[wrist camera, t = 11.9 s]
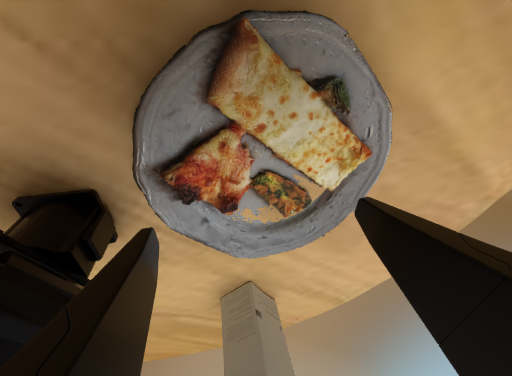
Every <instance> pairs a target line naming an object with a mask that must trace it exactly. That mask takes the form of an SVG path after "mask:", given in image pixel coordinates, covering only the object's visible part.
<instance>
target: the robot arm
mask: <svg viewBox="0 0 512 376" xmlns="http://www.w3.org/2000/svg"><path fill="white" fill-rule="evenodd" d="M88 194H90V195H92V196H89V195H88ZM19 202H20V203H22V204H20V203H19ZM12 206H13V207H14V208H15V209H16V211H17V212H18V213H19V215H20V216H21V218H19V219H18V220H17V221H16V222H15V223H14V224H13V225H12V226H11V227H10V228H9V229H8V230H7V231H6V232H5V233H3V232H4V231H2V230H0V376H140V374H141V368H142V363H143V358H144V352H145V347H146V341H147V336H148V330H149V325H150V320H151V314H152V309H153V303H154V298H155V292H156V287H157V276H158V260H159V242H158V239H157V236H156V233H155V230H154V228H152V227H150V228H143V229H141V230H140V231H139V232H138V233H137V234H136V235H135V236H134V237H133V238H132V239H131V240H130V241H129V242H128V243H127V244H126V245H125V246H124V247H123V248H122V249H121V250H120V251H119V252H118V253H117V254H116V255H115V256H114V257H113V258H112V259H111V260H110V261H109V262H108V263H107V264H106V265H105V266H104V267H103V269H102V270H101V271H100V272H99V273H98V274H97V275H96V276H95V277H94V278H93V279H92V280H89V279H88V277H89V275H90V273H91V271H92V268H93V266H94V264H95V262H96V261H99V260H101V258H102V257H103V255H104V253H105V250H106V248H107V246H108V244H109V243H114V242H116V240H117V238H118V237H117V234H116V232H115V227H114V224H113V222H112V220H111V218H110V216H109V214H108V212H107V210H106V209H104V207H103V205H102V203H101V201H100V199H99V196H98V194H97V193H96V192H95V191H93V190H82V191H73V192H64V193H54V194H45V195H36V196H27V197H18V198H16V199H15V200H14V201H12ZM355 217H356V219H357V221H358V223H359V225H360V226H361V228H362V230H363V232H364V234H365V236H366V237H367V239H368V241H369V243H370V244H371V246H372V248H373V249H374V251H375V252H376V254H377V255H378V257H379V258H380V259H381V261H382V262H383V264H384V265H385V267H386V268H387V270H388V271H389V273H390V274H391V276H392V277H393V278H394V280H395V282H396V283H397V285H398V286H399V287H400V289H401V290H402V292H403V293H404V295H405V296H406V298H407V299H408V301H409V302H410V304H411V305H412V307H413V308H414V310H415V311H416V313H417V314H418V315H419V317H420V318H421V320H422V321H423V323H424V324H425V326H426V327H427V329H428V330H429V332H430V333H431V334H432V336H433V338H434V339H435V341H436V342H437V343H438V344H439V347H440V348H441V349H442V351H443V353H444V354H445V356H446V357H447V359H448V360H449V362H450V363H451V364H452V366H453V367H454V369H455V370H456V372H457V373H458V375H459V376H512V252H509V251H507V250H504V249H501V248H498V247H495V246H493V245H490V244H487V243H485V242H482V241H479V240H477V239H474V238H471V237H469V236H466V235H464V234H461V233H457V232H456V231H454V230H451V229H449V228H446V227H444V226H441V225H438V224H436V223H433V222H431V221H428V220H426V219H423V218H421V217H418V216H416V215H413V214H411V213H408V212H406V211H403V210H401V209H398V208H396V207H393V206H390V205H388V204H385V203H383V202H380V201H378V200H375V199H373V198H370V197H363V198H360V199H359V200H358V202H357V206H356V209H355ZM111 238H113V239H111Z"/></svg>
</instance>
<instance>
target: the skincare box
mask: <svg viewBox="0 0 512 376" xmlns="http://www.w3.org/2000/svg"><path fill="white" fill-rule="evenodd" d="M221 313H222V333H223V354H224V373H225V376H295V375H294V371H293V367H292V364H291V359H290V356H289V352H288V348H287V344H286V340H285V336H284V333H283V329H282V325H281V321H280V317H279V313H278V309H277V305H276V302H275V300H273V299H272V298H270V297H269V296H267V295H266V294H265V293H263V292H262V291H261V290H260V289H259V288H257V287H256V286H255V285H254V284H253V283H252V282H248V283H246V284H245V285H243V286H241V287H239V288H238V289H236V290H234V291H232V292H231V293H229V294H227V295H225V296H224V297H222V298H221Z"/></svg>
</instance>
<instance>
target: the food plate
mask: <svg viewBox="0 0 512 376" xmlns="http://www.w3.org/2000/svg"><path fill="white" fill-rule="evenodd" d="M346 34H349V33H348V32H347V30H345V29H343V28H342V27H340V25H338V24H337V23H336V22H335V21H334V22H333V20H332V19H330V18H327V17H324V16H322V15H319V14H314V13H310V12H307V11H293V12H292V11H287V12H286V11H283V12H282V11H280V12H279V11H277V12H276V11H273V12H270V11H268V12H266V11H256V10H254V11H253V10H252V11H251V10H247V11H243V12H240V14H238V15H236V16H234V17H233V18H231V19H230V20H228V21H227V20H226V22H223V23H220V24H218V25H217V24H216V26H215V25H212V26H209V27H208V28H206V29H204V30H202V31H200V32H198V33H197V34H196V35H194V36H193V37H192V38H191V40H190V41H189V43H187V45H184V46H183V47H181V48H180V49H179V50H178V51H177V52H176V53H175V54H174V55H173V56H174V57H173V58H172V59H170V60H169V61H168V63H167V64H166V65H164V67H162V68H161V69H160V70H159V72H158V73H157V74H156V76H155V77H154V78H153V79H152V81H151V82H150V84H149V85H148V87H147V88H146V90H145V92H144V94H143V95H142V96H141V100H140V103H139V105H138V107H137V108H136V112H135V116H134V124H133V130H132V132H133V137H132V138H133V159H134V160H133V166H132V167H133V168H132V170H133V177H134V179H135V182H136V184H137V186H138V187H139V189H140V190H141V191H142V192H144V194H143V195H144V196H145V197H146V199H147V201H148V205H149V206H150V207H151V208H152V209H153V210H154V212H155V214H157V216H158V217H159V218H160V219H161V220H162V221H163V222H164V223H165V224H166V225H167V227H169V228H170V229H171V230H174V231H175V232H177V233H178V232H179V234H181V235H185V236H186V237H188V238H190V239H193V240H194V241H195V240H196V241H197V242H200V243H203V244H204V245H206V246H208V247H212V248H213V249H216V250H218V251H221V252H224V253H226V254H227V253H229V254H230V255H233V257H236V258H248V259H250V258H258V257H266V256H269V255H274V254H278V253H281V252H286V251H290V250H294V249H296V248H300V247H302V246H304V245H305V244H309V243H311V242H313V241H314V240H316V239H317V238H320V237H322V236H323V237H324V234H325V233H327V232H330V230H332V229H334V228H335V227H336V226H337V225H339V223H341V222H342V221H343V220H344V219H345V218H346V217H347V216H348V215H349V214H350V213H351V212H352V211H353V212H354V210H355V209H356V206H357V202H358V200H359V199H360V198H363V197H366V195H367V193H368V192H369V190H370V189H371V188H372V186H373V185H374V184H375V182H376V181H377V179H378V177H379V175H380V173H381V171H382V170H383V167H384V165H385V162H386V159H387V157H388V154H389V151H390V146H391V143H392V142H391V139H392V136H391V135H392V131H391V126H392V125H391V123H392V112H391V109H390V107H389V106H388V105H389V104H390V106H391V103H390V101H389V99H388V97H387V95H386V94H385V92H384V90H383V88H382V86H381V84H380V83H379V81H378V80H377V78H376V76H375V74H374V73H373V72H372V69H371V68H370V66H369V65H368V63H367V61H366V60H365V58H364V57H363V55H362V53H361V52H360V50H359V49H357V48H358V47H357V46H355V47H354V44H355V43H354V41H353V40H352V38H351V39H348V37H346ZM353 43H354V44H353ZM355 45H356V44H355ZM359 52H360V54H361V55H360V54H359ZM361 56H362V57H361ZM362 58H363V59H362ZM380 87H381V88H380ZM381 89H382V90H381ZM382 91H383V92H382ZM383 93H384V94H385V95H384V94H383ZM385 96H386V98H387V99H386V98H385ZM387 100H388V101H387ZM388 102H389V104H387V103H388ZM391 108H392V106H391ZM392 110H393V109H392ZM244 142H246V143H248V145H249V146H248V148H244V147H243V146H242V144H243V143H244ZM293 170H294V171H293ZM292 174H294V175H300V176H301V177H304V178H305V179H307V180H308V181H309V182H312V181H313V183H315V184H318V185H320V187H324V188H327V189H326V190H325V191H324V192H323V193H322V194H321V195H320V196H319V197H318V198H316V200H315V201H313V202H312V201H311V199H310V196H309V193H307V192H304V191H303V190H301V189H300V188H299V186H298V185H297V183H299V182H300V181H299V180H298V181H297V182H295V181H296V179H295V178H293V177H294V176H293V175H292ZM285 177H286V178H285ZM270 203H271V204H272V205H273V207H275V208H277V209H278V210H279V212H280V213H281V214H282V215H283V216H284V217H287V216H288V215H290V214H291V213H293V211H296V212H298V211H301V209H304V208H306V209H304V210H303V211H302V212H300V213H297V214H296V215H294V216H290V217H289V218H287V219H281V220H280V221H279V222H274V223H273V222H270V220H269V221H268V222H267V223H266V224H265V223H263V224H262V221H260V220H259V221H258V220H251V222H252V224H250V223H249V220H250V218H248V221H242V219H246V218H244V217H243V216H242V215H241V216H240V211H241V212H243V210H244V209H245V207H247V208H248V209H250V210H253V211H252V214H253V215H256V216H258V213H261V212H258V211H259V210H257V208H261V207H262V208H264V207H263V205H265V207H269V206H270ZM242 205H243V206H242ZM308 205H309V206H308ZM238 208H239V209H240V211H235V210H237V209H238ZM215 209H218V210H215ZM271 209H273V208H271ZM267 210H268V209H267ZM270 211H271V210H270ZM235 212H237V215H239V216H236V215H235ZM266 214H267V212H266ZM228 215H230V216H228ZM261 215H263V214H261ZM227 217H228V218H229V219H228V218H227ZM233 217H235V219H236V220H239V221H235V220H233V219H232V218H233ZM237 217H239V219H238V218H237ZM262 218H263V217H262ZM270 218H271V217H270ZM216 219H217V220H216ZM277 219H278V218H277Z"/></svg>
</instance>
